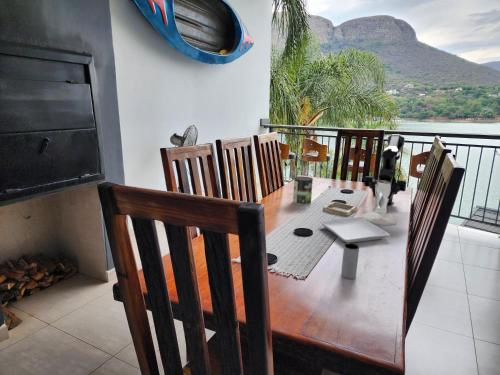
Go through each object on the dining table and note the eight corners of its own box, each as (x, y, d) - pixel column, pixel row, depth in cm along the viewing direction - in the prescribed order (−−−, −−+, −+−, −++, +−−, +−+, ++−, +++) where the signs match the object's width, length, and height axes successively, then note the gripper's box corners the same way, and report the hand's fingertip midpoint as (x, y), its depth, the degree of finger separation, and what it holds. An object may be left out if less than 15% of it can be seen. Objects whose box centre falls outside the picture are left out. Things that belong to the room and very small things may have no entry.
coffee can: (315, 203, 176) (316, 178, 173) (303, 206, 170) (304, 181, 166) (300, 198, 184) (302, 175, 180) (288, 202, 177) (290, 177, 174)
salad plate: (344, 247, 122) (345, 239, 121) (318, 227, 142) (319, 220, 141) (390, 242, 127) (391, 234, 126) (359, 223, 147) (360, 216, 146)
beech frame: (333, 205, 173) (333, 201, 173) (356, 210, 165) (357, 206, 165) (322, 210, 163) (323, 207, 163) (347, 216, 155) (347, 212, 155)
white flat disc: (368, 211, 163) (368, 210, 163) (400, 218, 153) (401, 217, 153) (356, 219, 151) (356, 218, 151) (391, 227, 141) (391, 226, 141)
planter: (339, 272, 103) (341, 243, 100) (352, 271, 103) (355, 242, 100) (344, 279, 98) (347, 249, 96) (358, 279, 99) (361, 249, 96)
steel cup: (390, 213, 150) (395, 183, 146) (379, 215, 147) (384, 184, 143) (379, 208, 156) (383, 179, 152) (368, 210, 153) (373, 180, 149)
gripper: (366, 159, 153) (359, 186, 147) (409, 163, 144) (403, 192, 138) (367, 172, 162) (361, 198, 155) (407, 177, 153) (402, 204, 146)
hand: (381, 198), depth 149 cm, fingers closed on steel cup, 7 cm apart
